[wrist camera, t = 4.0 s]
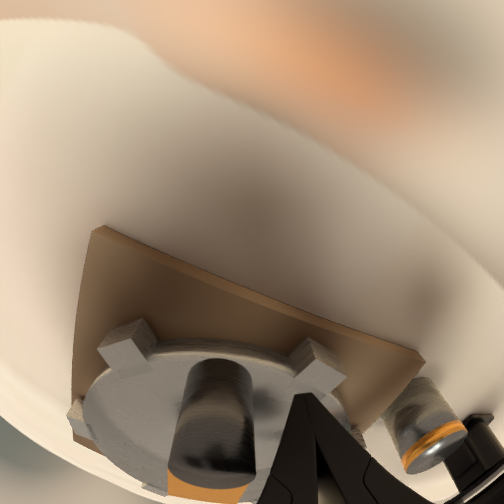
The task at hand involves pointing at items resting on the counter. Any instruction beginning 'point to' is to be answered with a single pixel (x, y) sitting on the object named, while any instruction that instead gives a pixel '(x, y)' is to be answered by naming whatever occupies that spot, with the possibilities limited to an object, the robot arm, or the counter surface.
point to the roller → (423, 426)
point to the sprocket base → (219, 323)
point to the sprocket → (200, 409)
